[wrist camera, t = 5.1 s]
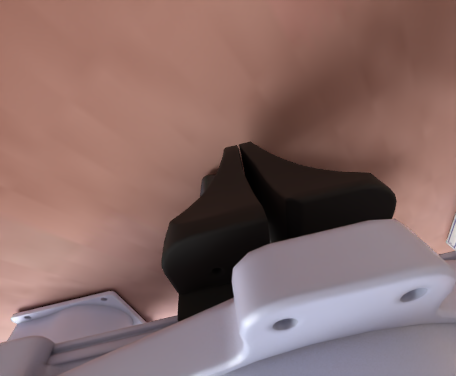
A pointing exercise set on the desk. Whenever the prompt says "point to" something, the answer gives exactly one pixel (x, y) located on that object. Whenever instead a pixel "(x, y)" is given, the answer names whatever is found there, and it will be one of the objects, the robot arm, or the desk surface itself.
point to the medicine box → (452, 235)
